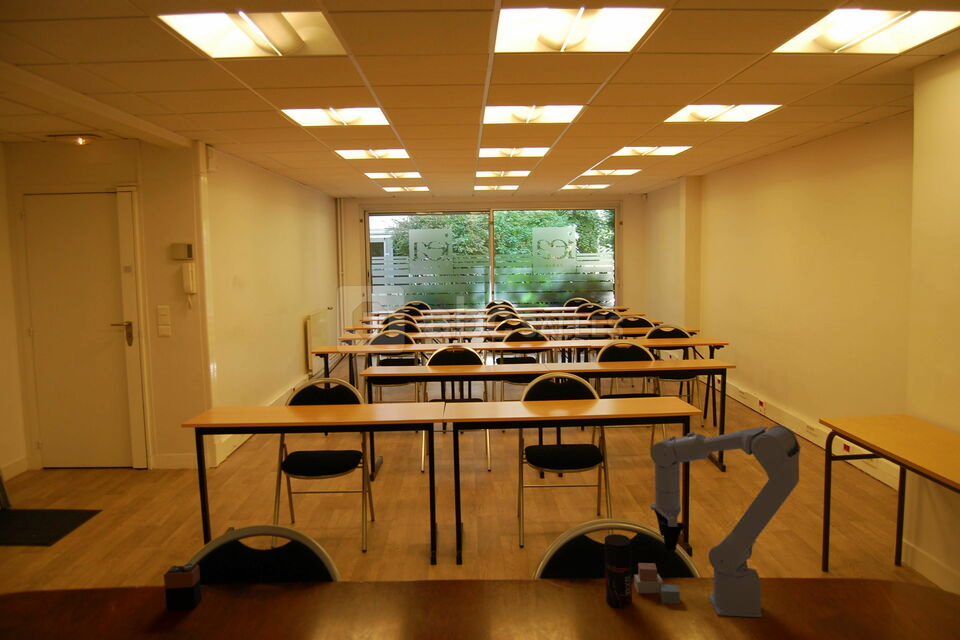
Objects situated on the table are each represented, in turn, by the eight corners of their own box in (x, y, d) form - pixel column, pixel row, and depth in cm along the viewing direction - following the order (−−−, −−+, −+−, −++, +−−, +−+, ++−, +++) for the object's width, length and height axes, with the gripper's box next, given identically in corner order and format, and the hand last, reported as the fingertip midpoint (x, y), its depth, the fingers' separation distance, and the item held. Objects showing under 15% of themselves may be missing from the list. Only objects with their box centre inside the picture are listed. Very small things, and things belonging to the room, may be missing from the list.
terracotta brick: (655, 575, 139) (655, 563, 139) (657, 581, 136) (656, 569, 136) (638, 574, 140) (638, 562, 140) (640, 581, 137) (639, 569, 137)
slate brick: (677, 597, 135) (676, 584, 135) (679, 604, 132) (679, 591, 132) (659, 596, 135) (659, 584, 135) (661, 603, 132) (661, 591, 132)
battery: (194, 609, 138) (191, 569, 137) (165, 611, 137) (162, 571, 137) (202, 599, 142) (199, 560, 141) (174, 601, 142) (171, 562, 141)
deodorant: (626, 611, 129) (624, 548, 128) (601, 603, 133) (600, 541, 132) (636, 599, 134) (634, 538, 133) (612, 592, 138) (611, 532, 137)
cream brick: (658, 585, 140) (658, 574, 140) (663, 593, 137) (662, 581, 136) (634, 586, 140) (634, 574, 140) (637, 594, 137) (637, 582, 137)
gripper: (646, 477, 147) (646, 528, 148) (654, 499, 132) (655, 556, 133) (674, 478, 145) (675, 529, 147) (686, 500, 131) (686, 557, 132)
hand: (667, 542), depth 140 cm, fingers open, 7 cm apart
